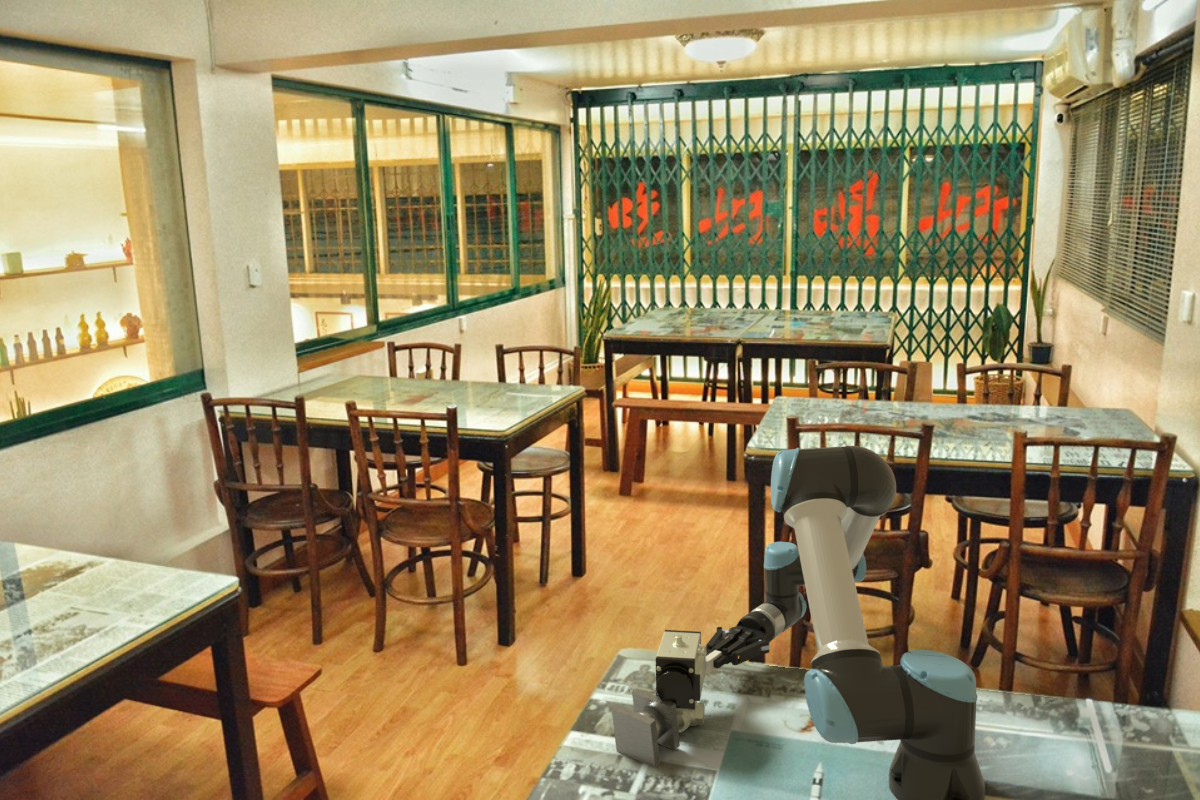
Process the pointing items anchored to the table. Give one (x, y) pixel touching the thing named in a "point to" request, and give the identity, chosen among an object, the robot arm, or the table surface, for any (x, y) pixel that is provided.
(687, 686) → the ball valve
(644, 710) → the flanged fitting
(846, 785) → the table surface
